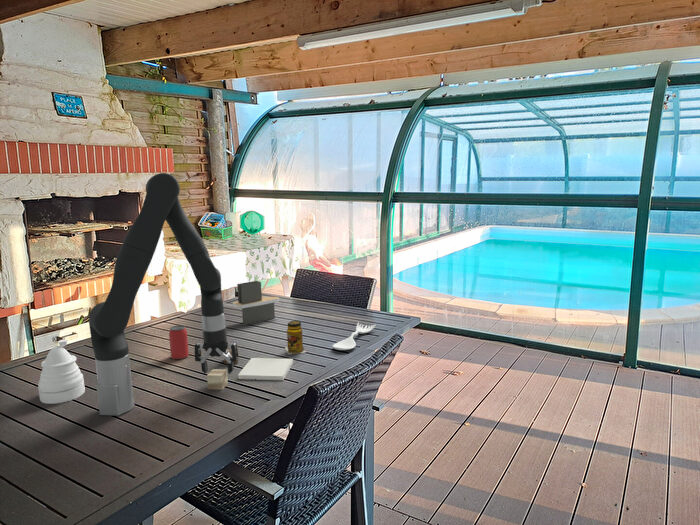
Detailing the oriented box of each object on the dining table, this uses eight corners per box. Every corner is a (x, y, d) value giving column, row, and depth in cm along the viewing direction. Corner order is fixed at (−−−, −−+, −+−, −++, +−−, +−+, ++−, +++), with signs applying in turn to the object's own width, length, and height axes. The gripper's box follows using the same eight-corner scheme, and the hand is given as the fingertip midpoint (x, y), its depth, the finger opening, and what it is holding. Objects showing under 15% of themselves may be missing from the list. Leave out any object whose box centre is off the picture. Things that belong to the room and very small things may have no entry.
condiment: (288, 355, 193) (287, 325, 191) (284, 347, 201) (283, 319, 199) (306, 352, 195) (305, 323, 193) (302, 345, 203) (301, 317, 201)
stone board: (283, 380, 170) (282, 376, 169) (238, 379, 171) (237, 374, 171) (293, 362, 185) (293, 358, 185) (251, 361, 187) (251, 357, 187)
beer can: (183, 360, 189) (180, 330, 187) (167, 359, 191) (165, 329, 188) (191, 354, 196) (189, 325, 194) (176, 353, 197) (174, 324, 195)
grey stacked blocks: (277, 308, 260) (276, 272, 256) (304, 319, 241) (303, 280, 237) (209, 323, 236) (206, 283, 232) (232, 336, 217) (230, 293, 213)
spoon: (376, 330, 222) (376, 323, 221) (349, 355, 193) (349, 347, 192) (358, 328, 225) (358, 321, 224) (328, 352, 196) (328, 344, 195)
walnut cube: (237, 363, 186) (237, 350, 185) (224, 364, 185) (223, 351, 184) (238, 358, 191) (238, 346, 190) (225, 359, 190) (224, 347, 189)
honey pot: (75, 383, 170) (69, 333, 167) (91, 393, 162) (85, 341, 159) (33, 396, 161) (26, 343, 157) (49, 407, 153) (41, 352, 149)
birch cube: (222, 389, 163) (221, 375, 163) (208, 389, 164) (207, 375, 163) (227, 383, 168) (226, 369, 167) (213, 382, 169) (212, 369, 168)
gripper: (188, 330, 160) (193, 377, 163) (231, 330, 158) (235, 377, 162) (197, 323, 167) (202, 367, 170) (238, 323, 166) (242, 368, 169)
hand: (218, 372), depth 166 cm, fingers open, 8 cm apart
